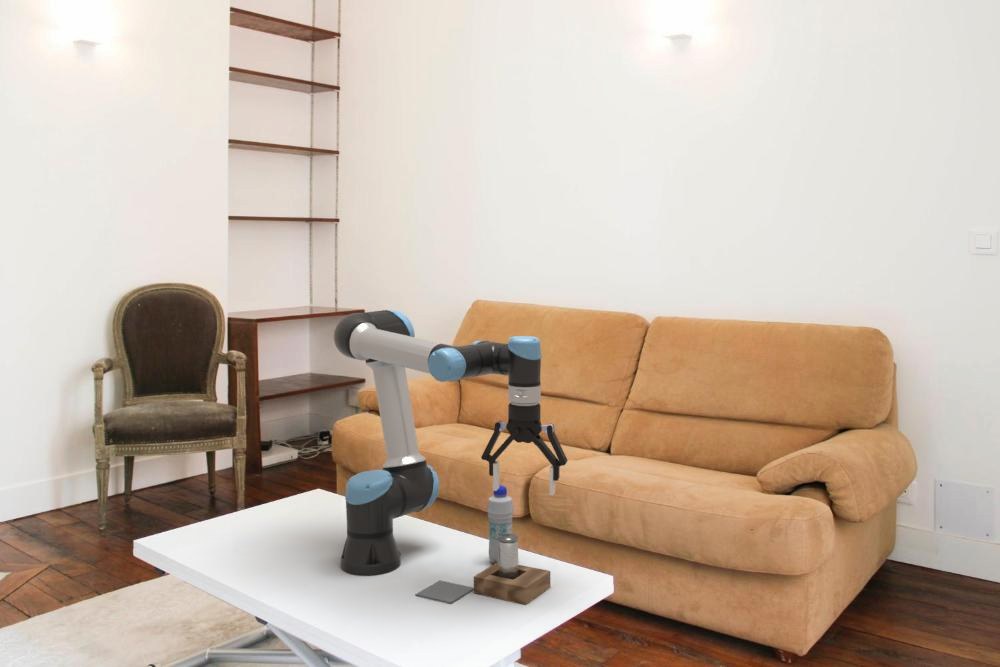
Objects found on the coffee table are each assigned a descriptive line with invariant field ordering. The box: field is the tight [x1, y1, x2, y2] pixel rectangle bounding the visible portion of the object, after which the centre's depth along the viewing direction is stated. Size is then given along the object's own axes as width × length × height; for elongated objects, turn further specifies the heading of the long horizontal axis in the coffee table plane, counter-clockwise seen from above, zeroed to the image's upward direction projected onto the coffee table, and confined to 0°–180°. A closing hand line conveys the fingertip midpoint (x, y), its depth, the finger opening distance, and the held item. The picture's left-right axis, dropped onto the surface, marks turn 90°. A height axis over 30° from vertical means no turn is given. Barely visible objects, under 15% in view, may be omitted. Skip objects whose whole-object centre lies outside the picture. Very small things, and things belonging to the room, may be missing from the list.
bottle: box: [486, 485, 514, 565], centre depth 234 cm, size 7×7×20 cm
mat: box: [415, 580, 474, 605], centre depth 215 cm, size 10×10×1 cm
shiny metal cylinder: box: [498, 533, 519, 580], centre depth 216 cm, size 5×5×13 cm
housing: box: [473, 561, 551, 606], centre depth 216 cm, size 14×12×4 cm
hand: (523, 491), depth 216 cm, fingers open, 13 cm apart
